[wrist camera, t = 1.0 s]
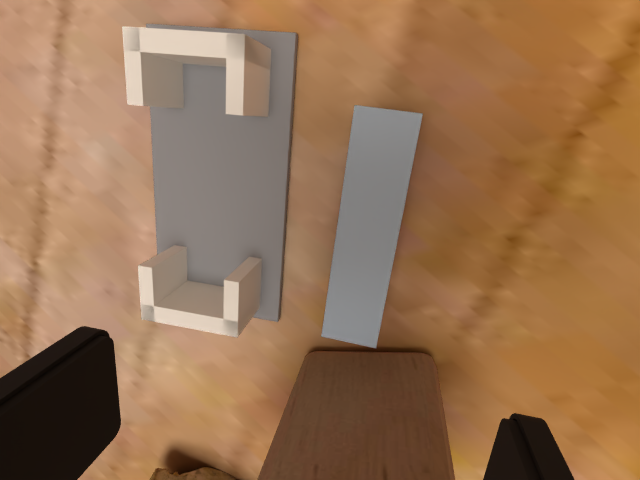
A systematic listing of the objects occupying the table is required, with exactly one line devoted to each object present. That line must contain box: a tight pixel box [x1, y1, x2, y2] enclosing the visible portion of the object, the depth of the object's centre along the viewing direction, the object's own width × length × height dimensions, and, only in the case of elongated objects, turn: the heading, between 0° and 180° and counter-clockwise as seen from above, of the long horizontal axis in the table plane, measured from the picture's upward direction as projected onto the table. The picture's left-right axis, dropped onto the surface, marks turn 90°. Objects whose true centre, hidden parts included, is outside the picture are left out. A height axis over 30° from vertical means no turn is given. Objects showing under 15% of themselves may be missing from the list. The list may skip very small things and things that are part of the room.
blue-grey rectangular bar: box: [321, 105, 423, 348], centre depth 24 cm, size 14×4×5 cm, turn 173°
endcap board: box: [122, 24, 298, 338], centre depth 25 cm, size 10×20×5 cm, turn 175°
